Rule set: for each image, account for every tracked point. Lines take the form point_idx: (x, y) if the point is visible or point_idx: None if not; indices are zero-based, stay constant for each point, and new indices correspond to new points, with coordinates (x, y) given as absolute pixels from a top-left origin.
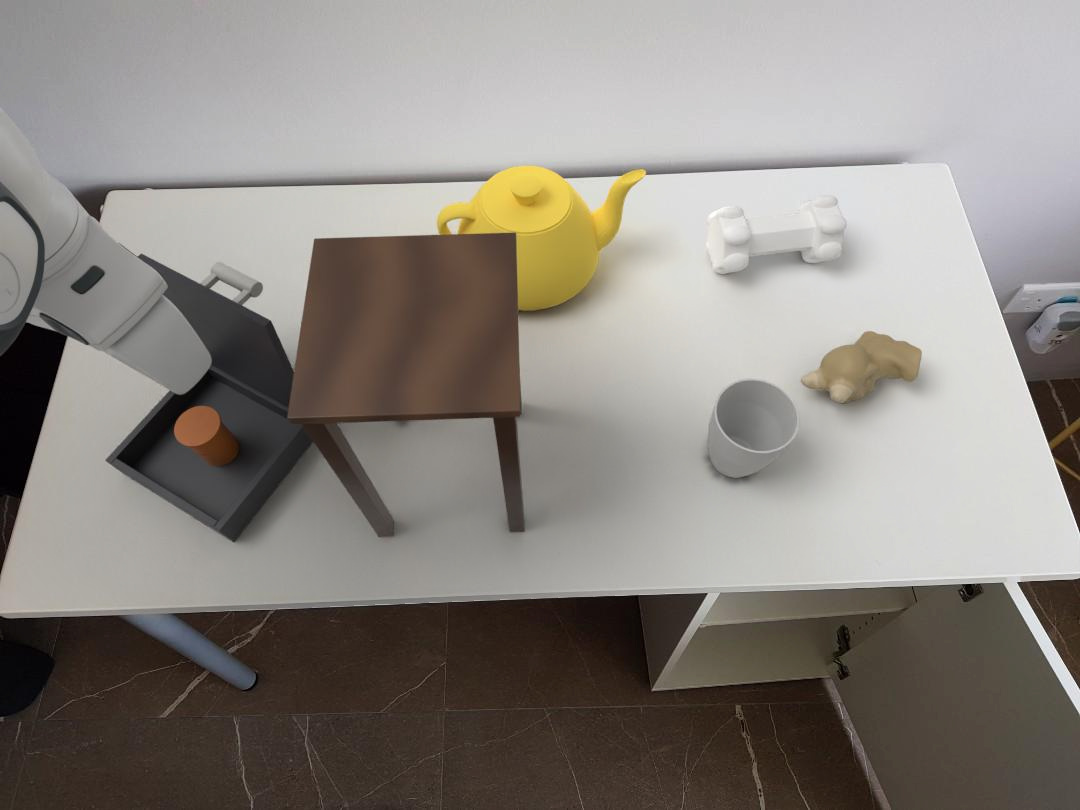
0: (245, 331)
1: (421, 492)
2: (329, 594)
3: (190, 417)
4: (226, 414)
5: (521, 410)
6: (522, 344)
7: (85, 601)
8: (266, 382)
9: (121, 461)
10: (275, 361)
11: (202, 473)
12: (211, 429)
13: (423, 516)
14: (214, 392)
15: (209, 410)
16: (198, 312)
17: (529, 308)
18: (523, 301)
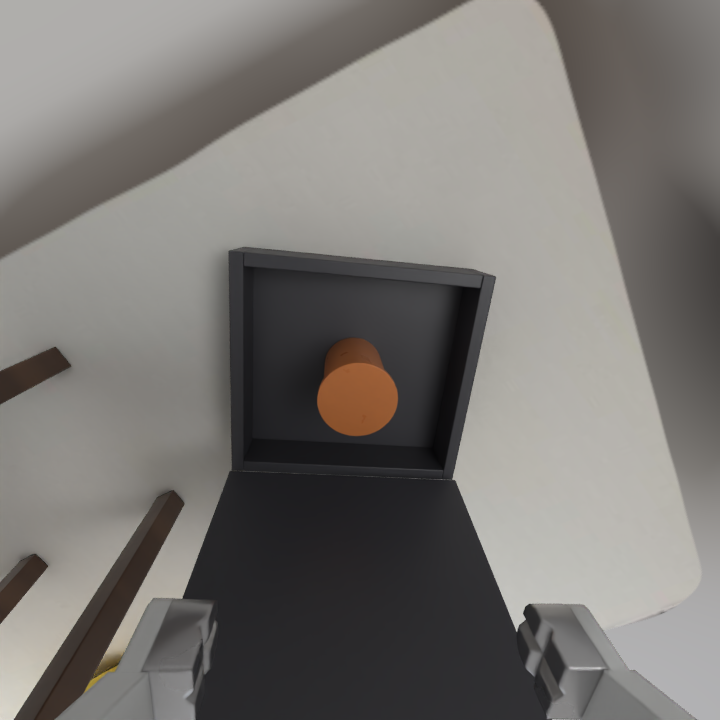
0: (240, 696)
1: (53, 425)
2: (51, 237)
3: (378, 407)
4: None
5: (8, 573)
6: None
7: (403, 46)
8: (290, 510)
9: (467, 286)
10: None
11: (354, 321)
12: (329, 405)
13: (23, 398)
14: (417, 431)
15: (355, 431)
16: (399, 659)
17: (91, 685)
18: None
